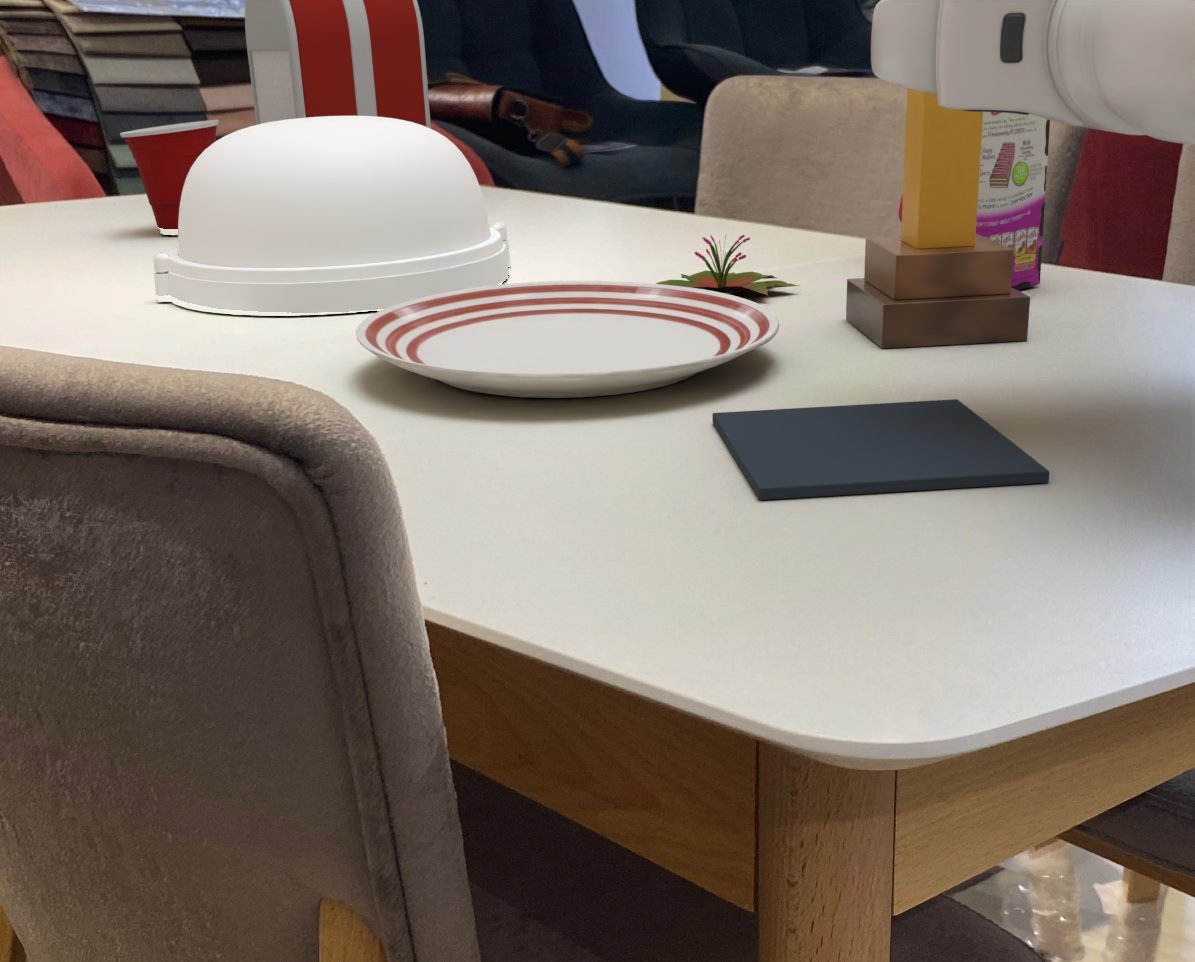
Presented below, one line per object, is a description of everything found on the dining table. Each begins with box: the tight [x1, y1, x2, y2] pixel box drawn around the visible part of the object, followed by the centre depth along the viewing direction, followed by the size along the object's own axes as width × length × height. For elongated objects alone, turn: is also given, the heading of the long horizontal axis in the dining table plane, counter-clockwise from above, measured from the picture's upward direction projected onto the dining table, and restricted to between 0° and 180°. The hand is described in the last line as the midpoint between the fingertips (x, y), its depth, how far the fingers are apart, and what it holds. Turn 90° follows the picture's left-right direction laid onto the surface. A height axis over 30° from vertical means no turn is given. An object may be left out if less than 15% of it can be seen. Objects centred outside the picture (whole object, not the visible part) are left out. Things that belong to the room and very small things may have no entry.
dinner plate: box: [355, 280, 780, 399], centre depth 94 cm, size 28×27×3 cm
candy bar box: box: [976, 112, 1051, 291], centre depth 110 cm, size 11×5×16 cm, turn 126°
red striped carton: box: [244, 0, 432, 129], centre depth 181 cm, size 16×18×27 cm
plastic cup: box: [119, 119, 220, 229], centre depth 161 cm, size 11×11×12 cm
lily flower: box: [655, 234, 801, 297], centre depth 116 cm, size 12×12×5 cm
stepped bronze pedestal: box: [845, 234, 1031, 350], centre depth 100 cm, size 10×10×6 cm
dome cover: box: [152, 116, 512, 313], centre depth 125 cm, size 32×30×14 cm
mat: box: [712, 398, 1050, 501], centre depth 74 cm, size 14×14×1 cm
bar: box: [900, 88, 983, 249], centre depth 97 cm, size 4×4×12 cm
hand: (1020, 32), depth 81 cm, fingers open, 8 cm apart
